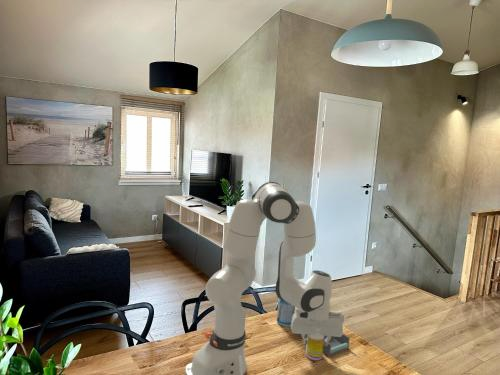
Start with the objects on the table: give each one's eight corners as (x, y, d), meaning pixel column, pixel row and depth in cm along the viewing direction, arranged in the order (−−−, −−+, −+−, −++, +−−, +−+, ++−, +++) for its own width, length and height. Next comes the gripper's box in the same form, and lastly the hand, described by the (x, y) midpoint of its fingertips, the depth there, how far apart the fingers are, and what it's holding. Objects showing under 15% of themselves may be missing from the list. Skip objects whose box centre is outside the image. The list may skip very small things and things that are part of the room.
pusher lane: (328, 356, 136) (330, 340, 135) (299, 334, 151) (300, 319, 150) (348, 348, 142) (350, 332, 141) (318, 327, 157) (319, 313, 156)
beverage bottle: (283, 328, 154) (286, 286, 152) (273, 319, 162) (275, 279, 159) (297, 324, 159) (301, 284, 156) (287, 316, 166) (290, 277, 164)
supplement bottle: (323, 361, 132) (326, 330, 130) (306, 360, 132) (309, 329, 130) (320, 351, 139) (323, 321, 137) (304, 350, 139) (307, 320, 137)
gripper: (342, 309, 136) (339, 341, 137) (291, 305, 136) (289, 337, 138) (346, 317, 129) (343, 351, 131) (293, 313, 130) (290, 346, 132)
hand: (315, 344), depth 135 cm, fingers closed on supplement bottle, 6 cm apart
